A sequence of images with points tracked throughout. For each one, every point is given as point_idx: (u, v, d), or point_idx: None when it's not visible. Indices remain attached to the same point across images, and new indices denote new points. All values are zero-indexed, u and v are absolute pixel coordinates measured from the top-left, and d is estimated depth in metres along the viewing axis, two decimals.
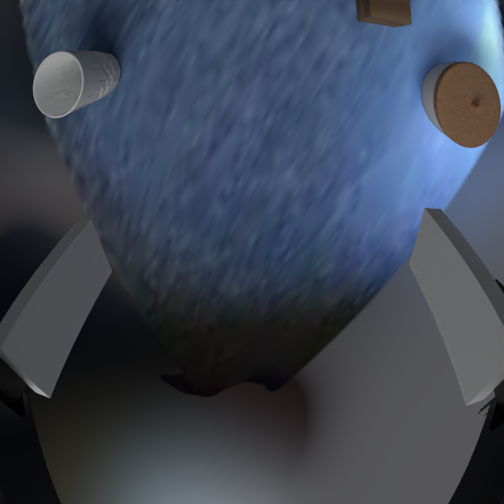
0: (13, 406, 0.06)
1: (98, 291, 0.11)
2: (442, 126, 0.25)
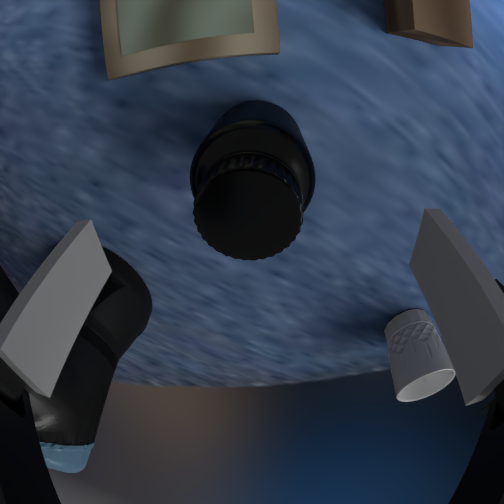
0: (13, 406, 0.06)
1: (98, 291, 0.11)
2: None
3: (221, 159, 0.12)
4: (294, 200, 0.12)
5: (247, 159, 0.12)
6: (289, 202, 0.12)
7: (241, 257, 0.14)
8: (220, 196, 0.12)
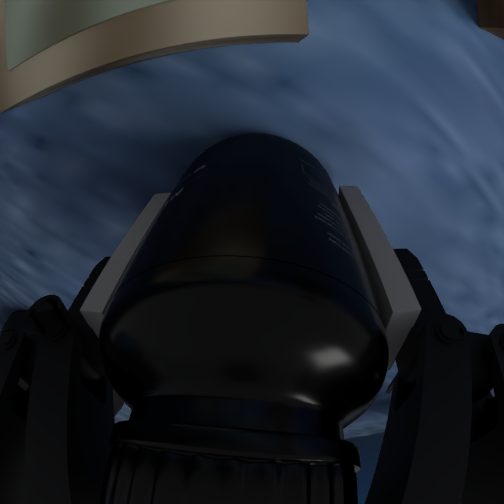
0: (91, 386, 0.07)
1: None
2: None
3: (139, 440, 0.03)
4: None
5: (213, 481, 0.03)
6: None
7: None
8: None
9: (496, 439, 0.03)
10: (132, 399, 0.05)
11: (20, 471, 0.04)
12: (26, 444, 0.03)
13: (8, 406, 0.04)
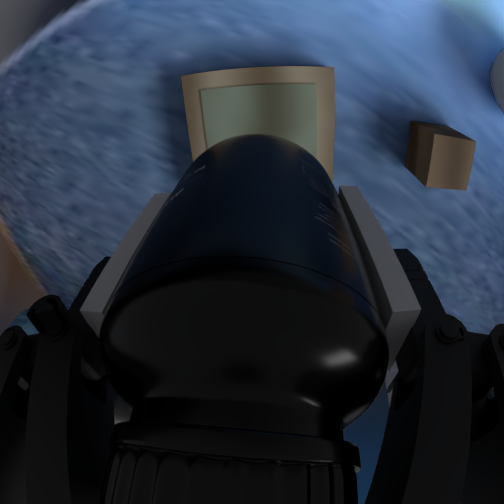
0: (91, 386, 0.07)
1: None
2: None
3: (139, 441, 0.03)
4: None
5: (214, 483, 0.03)
6: None
7: None
8: None
9: (496, 439, 0.03)
10: (132, 400, 0.05)
11: (20, 471, 0.04)
12: (26, 444, 0.03)
13: (8, 406, 0.04)
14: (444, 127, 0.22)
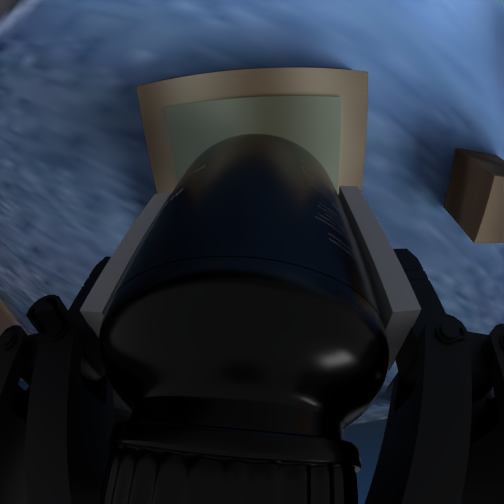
0: (91, 386, 0.07)
1: None
2: None
3: (139, 441, 0.03)
4: None
5: (214, 483, 0.03)
6: None
7: None
8: None
9: (496, 439, 0.03)
10: (132, 400, 0.05)
11: (20, 471, 0.04)
12: (26, 444, 0.03)
13: (8, 406, 0.04)
14: (494, 158, 0.15)
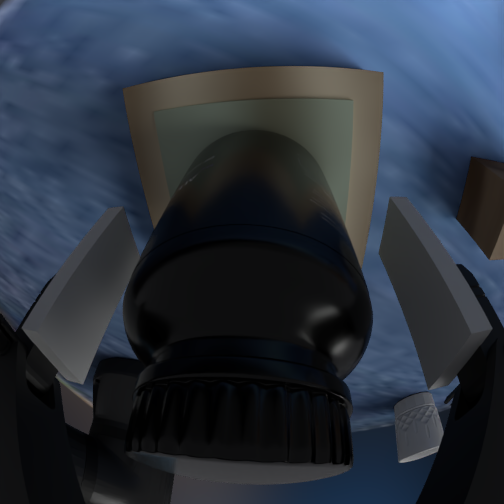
0: (42, 396, 0.06)
1: (128, 278, 0.11)
2: None
3: (169, 375, 0.04)
4: (340, 469, 0.04)
5: (236, 402, 0.04)
6: (328, 471, 0.04)
7: None
8: (176, 464, 0.04)
9: None
10: (155, 351, 0.06)
11: None
12: None
13: None
14: None
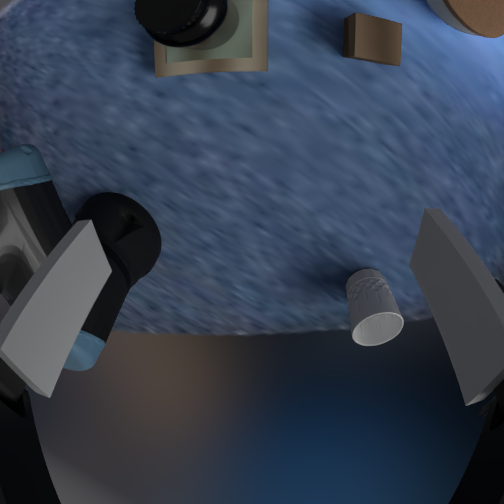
0: (13, 406, 0.06)
1: (98, 291, 0.11)
2: (499, 36, 0.14)
3: None
4: None
5: None
6: None
7: (158, 29, 0.14)
8: None
9: None
10: None
11: None
12: None
13: None
14: None
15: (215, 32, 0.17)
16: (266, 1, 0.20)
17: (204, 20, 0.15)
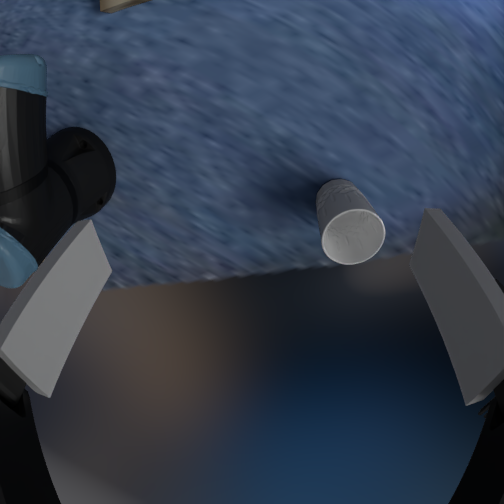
0: (13, 406, 0.06)
1: (98, 291, 0.11)
2: None
3: None
4: None
5: None
6: None
7: None
8: None
9: None
10: None
11: None
12: None
13: None
14: None
15: None
16: None
17: None
